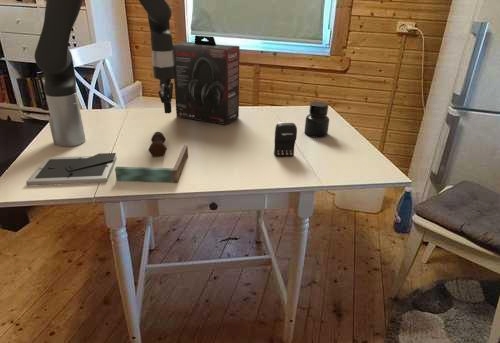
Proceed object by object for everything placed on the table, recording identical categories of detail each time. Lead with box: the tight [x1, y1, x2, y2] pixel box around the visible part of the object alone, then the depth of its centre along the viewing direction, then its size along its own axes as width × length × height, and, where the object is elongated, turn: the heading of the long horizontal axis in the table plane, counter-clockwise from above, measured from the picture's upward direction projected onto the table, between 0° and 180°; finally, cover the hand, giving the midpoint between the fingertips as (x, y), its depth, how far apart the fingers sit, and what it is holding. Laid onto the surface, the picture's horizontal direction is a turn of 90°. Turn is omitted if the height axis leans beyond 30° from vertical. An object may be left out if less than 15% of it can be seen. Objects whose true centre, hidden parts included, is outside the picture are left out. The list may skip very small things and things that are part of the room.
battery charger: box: [273, 121, 298, 158], centre depth 119 cm, size 7×4×11 cm, turn 95°
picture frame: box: [25, 152, 117, 187], centre depth 107 cm, size 16×3×21 cm
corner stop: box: [114, 144, 189, 184], centre depth 110 cm, size 17×18×4 cm
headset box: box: [173, 34, 241, 126], centre depth 148 cm, size 24×13×33 cm, turn 67°
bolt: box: [148, 131, 168, 158], centre depth 123 cm, size 6×5×15 cm
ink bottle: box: [304, 101, 330, 138], centre depth 139 cm, size 10×9×12 cm
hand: (168, 112), depth 132 cm, fingers closed
